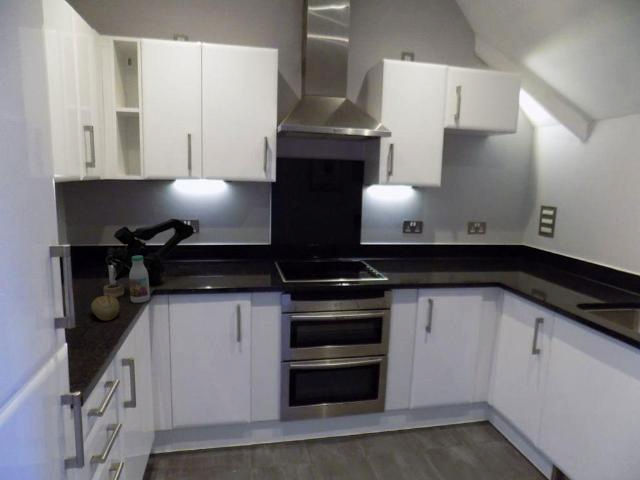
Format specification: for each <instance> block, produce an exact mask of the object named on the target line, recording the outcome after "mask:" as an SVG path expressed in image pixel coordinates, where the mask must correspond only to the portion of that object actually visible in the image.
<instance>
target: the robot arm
mask: <svg viewBox="0 0 640 480" xmlns="http://www.w3.org/2000/svg"><path fill="white" fill-rule="evenodd" d="M172 229H174V233H173V235H172V236H171V237H170V238H169V239H168V240H167V241H165V243H164V244H163V245H162V246H161V247H160V248H159V249H158V250H157V251H155V252H154V253H153V252H148V253H147V254H146V256H143V264H144V266H145V268H146V270H147V272H148V279H149V286H153V287H155V286H159V285H163V284H164V283H166V282H165V281H163V273H165V269H166V267H164V266H163V265H162V264H163V261H164V259H165V257H167V256H168V255H169V254H170V253H171V252H172V251H173V250H174V249H175V248H176V247H177V246H178V245H179V244H180V243H181V242H182V241H183V240H186V239H188V238H190V237H191V236H193V234H194V232H195V231H194V226H192V224H191V225H189V224H187V223H184V222H183V221H181V220H179V219H178V218H169V220H165V221H163V222H161V223H157V224H155V225H152V226H143V227H138V228H136V229H135V230H134V231H133V230H132V231H131V230H130V229H129V228H128V226H122V227H121V228H119V229H118V230H116V231H115V233H114V234H113V237H114V238H115V240H117V241H118V242H120V243H121V244H122V245H124V246H125V248H122V247H117V248H114V247H108V250H107V256H106V257H105V258H104V259H105V262H106V269H105V271H104V274H103V278H107V277H108V276H109V267H108V265H111V264H115V267H116V270H117V269H118V268H119V267H120V270H119V271H118V272H117V273H116V277H115V279H114V280H116V281H117V282H118V281H119V280H120V279H122V278H124V277H126V276H128V275H129V274H130V270H131V268H132V264H133V262H132V257H133V256H137V254H138V253H139V252H140V250H141V249H147V243H146V242H149V241H150V240H152V239H153V238H155V237H156V236H157V235H158V234H160V233H164V232H166V231H168V230H172ZM145 241H146V242H145Z"/></svg>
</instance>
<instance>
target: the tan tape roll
mask: <svg viewBox="0 0 640 480" xmlns="http://www.w3.org/2000/svg"><path fill="white" fill-rule="evenodd" d="M102 288H103V289H102V290H103V296H108V295H112V296H114V297H115V298H118V296H119V297H121V295H122V296H124V295H125V286H124V284H123V283H117V287H116V288H110V284H106V285H103V287H102ZM123 294H124V295H123Z"/></svg>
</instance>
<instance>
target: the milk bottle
mask: <svg viewBox="0 0 640 480" xmlns="http://www.w3.org/2000/svg"><path fill="white" fill-rule="evenodd" d="M143 259H144V256H143V255H136V256H133V257H132V262H133V264H132V268H131V270H130V274H128V275H129V277H128V278H129V280H128V281H129V293H130V295H129V296H130V301H131V303H133V304H139V303H145V302H148V301H149V300H150V299H151V293H150V285H149V279H148V273H149V272H147V270H146V268H145V266H144V264H143Z"/></svg>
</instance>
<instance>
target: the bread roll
mask: <svg viewBox="0 0 640 480" xmlns="http://www.w3.org/2000/svg"><path fill="white" fill-rule="evenodd" d="M90 309H91V312H93V314H94V315H95V316H96V317H97V318H98V319H99V320H101V321H104V322H105V321H106V322H107V321H113V320H114V319H115V318H116V317H117V315H118V314H119V311H120V302H119V301H118V299H117V297H114V296H112V295H108V296H104V295H101V296H98V297H96V298H95V299H93V301H92V303H91V305H90Z"/></svg>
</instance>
